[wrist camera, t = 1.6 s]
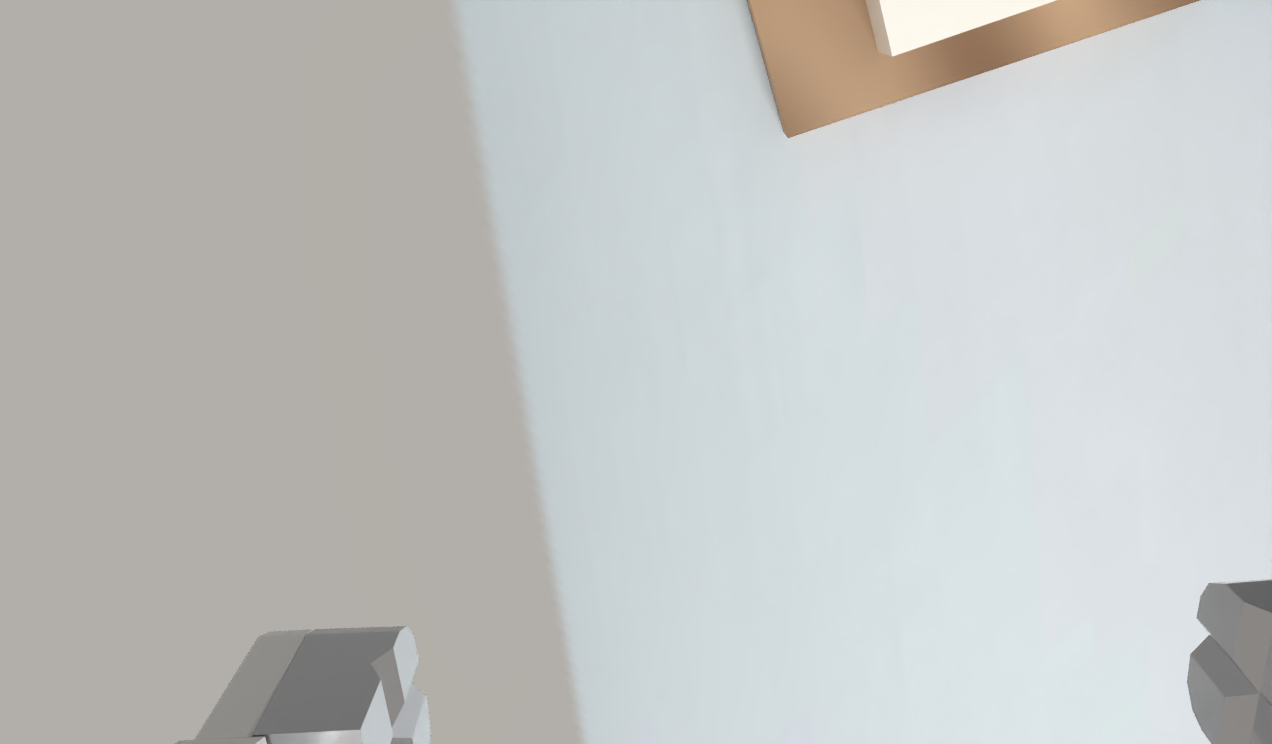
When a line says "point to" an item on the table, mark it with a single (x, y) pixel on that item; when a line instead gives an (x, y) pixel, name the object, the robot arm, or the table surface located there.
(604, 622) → the table surface
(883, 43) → the tile cream
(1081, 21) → the board
